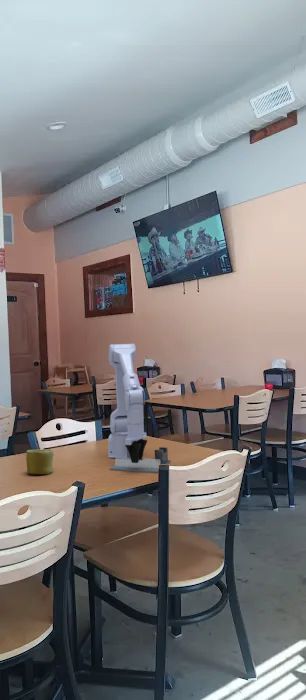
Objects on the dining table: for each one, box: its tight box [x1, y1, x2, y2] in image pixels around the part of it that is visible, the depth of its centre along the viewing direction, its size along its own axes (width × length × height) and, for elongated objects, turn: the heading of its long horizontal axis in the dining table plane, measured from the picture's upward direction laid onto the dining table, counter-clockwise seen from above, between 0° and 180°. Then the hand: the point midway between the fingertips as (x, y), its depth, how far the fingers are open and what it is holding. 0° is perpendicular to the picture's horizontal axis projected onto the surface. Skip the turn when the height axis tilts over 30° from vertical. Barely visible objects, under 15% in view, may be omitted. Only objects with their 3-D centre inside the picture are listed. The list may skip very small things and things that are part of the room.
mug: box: [25, 448, 55, 475], centre depth 201 cm, size 12×10×10 cm
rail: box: [114, 457, 160, 470], centre depth 201 cm, size 16×3×3 cm
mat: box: [109, 465, 159, 474], centre depth 201 cm, size 18×7×1 cm, turn 69°
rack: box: [127, 446, 172, 465], centre depth 210 cm, size 16×6×6 cm, turn 68°
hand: (136, 461), depth 201 cm, fingers closed on rail, 3 cm apart
